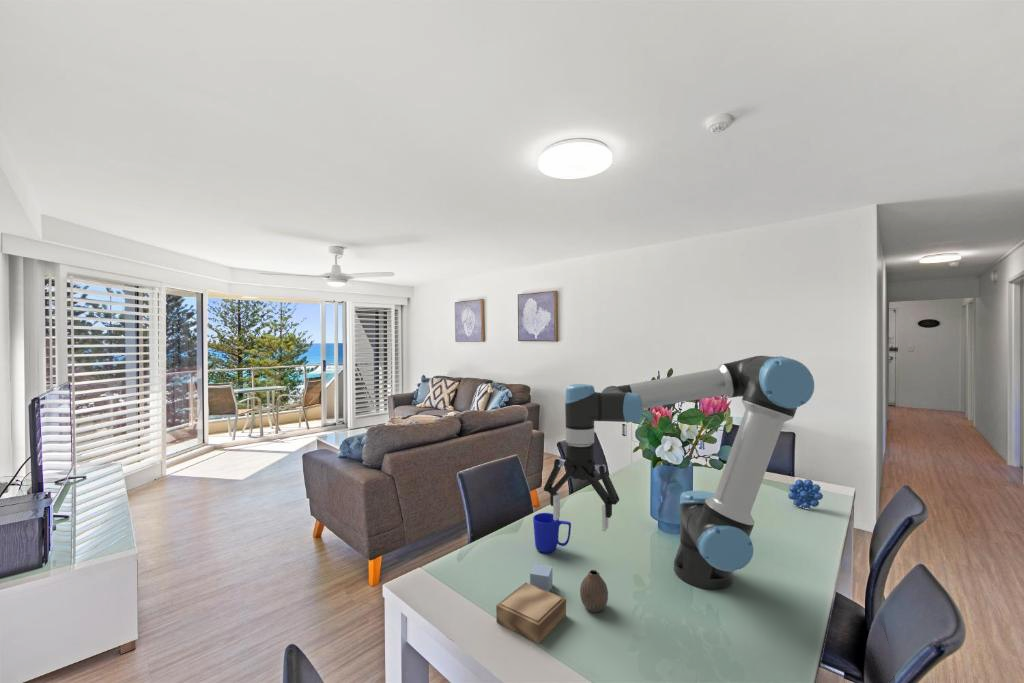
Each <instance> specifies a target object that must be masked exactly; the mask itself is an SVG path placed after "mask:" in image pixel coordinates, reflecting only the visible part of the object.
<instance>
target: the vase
mask: <svg viewBox="0 0 1024 683" xmlns="http://www.w3.org/2000/svg"><path fill="white" fill-rule="evenodd" d="M608 590H609V589H608V586H607V584H606V582H605V580H604V579H603V577H602V576H601V575H600V573H599V571H598V570H596V569H591V570H589V571H588V572H587V575H586V576H585V577H584V578H583V580H582V582H581V584H580V588H579V594H580V601H581V604H582V605H583V606H584V607H585V609H587V610H588V611H589V612H592V613H598V612H599V613H600V612H601V611H602V610H604V609H605V607H606V606H607V604H608V600H609V591H608Z"/></svg>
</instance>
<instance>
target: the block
mask: <svg viewBox="0 0 1024 683" xmlns="http://www.w3.org/2000/svg"><path fill="white" fill-rule="evenodd" d="M529 581H530V582H529V584H531V585H533V586H536V587H538V588H541V589H543V590H545V591H548V592H550V593H551V590H552V587H553V585H554V584H553V566H550V565H543V564H542V565H540V564H535V563H534V565H533V567H532V569H531V571H530V573H529Z"/></svg>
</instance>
